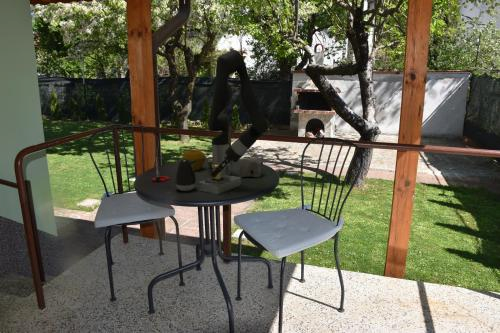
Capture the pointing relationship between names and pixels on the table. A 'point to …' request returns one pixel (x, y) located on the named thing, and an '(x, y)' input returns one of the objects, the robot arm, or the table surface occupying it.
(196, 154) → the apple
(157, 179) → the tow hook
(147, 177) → the table surface
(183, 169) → the dark grey ribbed bell
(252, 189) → the table surface
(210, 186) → the hitch plate
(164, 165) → the table surface
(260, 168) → the stone
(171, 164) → the table surface
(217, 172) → the robot arm
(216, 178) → the gold cylinder
